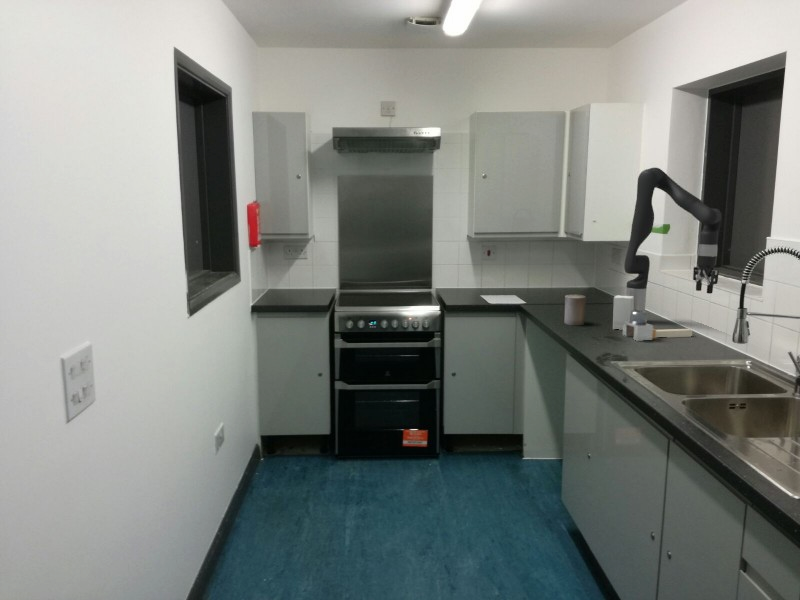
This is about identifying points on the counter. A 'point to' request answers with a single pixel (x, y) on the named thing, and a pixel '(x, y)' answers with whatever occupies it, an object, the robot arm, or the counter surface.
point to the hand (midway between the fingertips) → (703, 291)
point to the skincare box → (622, 310)
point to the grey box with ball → (638, 326)
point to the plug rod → (672, 333)
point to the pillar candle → (575, 309)
